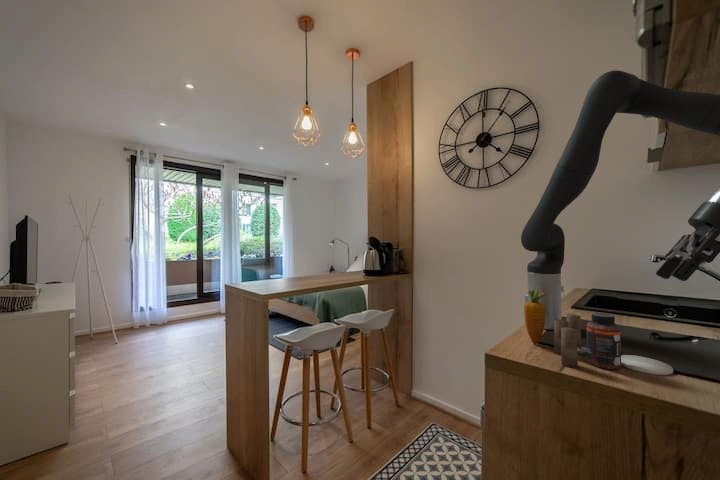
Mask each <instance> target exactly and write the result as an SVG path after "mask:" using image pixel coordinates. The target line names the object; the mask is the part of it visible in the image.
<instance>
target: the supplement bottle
mask: <svg viewBox="0 0 720 480" xmlns="http://www.w3.org/2000/svg"><path fill="white" fill-rule="evenodd" d="M621 338H622V332H621V327H620V326H619V325H617V324H616V320H615V315H614V314H612V313H607V312H592V313H591V320H590V321H589V322H587V323H586V348H587V356H586V359H587V362H588V363H589V364H591V366H592V365H593V366H595V367H598V368H601V369H607V370H619V369H621V367H622V365H621V355H622V341H621V340H622V339H621Z"/></svg>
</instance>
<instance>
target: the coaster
mask: <svg viewBox="0 0 720 480" xmlns="http://www.w3.org/2000/svg"><path fill="white" fill-rule="evenodd" d="M621 367H624V368H626V369H629V370H631V371H632V370H633V371H635V372H638V373H643V374H648V375H654V376H670V375H673V374H674V369H673V367H672V366H671V365H669V364H667V363H665V362H664V361H660V360H657V359H653V358H651V357H650V358H649V357H646V356H639V355H634V354H633V355H631V354H623V355H622V354H621Z"/></svg>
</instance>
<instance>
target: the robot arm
mask: <svg viewBox="0 0 720 480" xmlns="http://www.w3.org/2000/svg"><path fill="white" fill-rule="evenodd" d="M616 114H629V115H638V116H639V115H641V116H647V117H651V118H656V119H659V120H662V121H666V122H669V123H671V124H674V125H677V126H680V127H684V128H687V129H690V130H694V131H698V132H702V133H705V134H710V135H714V136H718V137H720V94H716V93H711V92H710V93H709V92H700V91H690V90H689V91H688V90H681V89H680V90H679V89H674V88H670V87H669V88H668V87H664V86H661V85H657V84H654V83H651V82H650V81H646V80H643V79H641V78H639V77H638V76H637V75H635V74H632V73H631V72H626V71H622V70H610V71H608V72H605V73H603V74H602V75H600V76H599V77H598V78H596V79H595V81H593V82H592V84H591V85H590V87H589V88H588V91H587V93H586V96H585V97H584V100H583V103H582V106H581V109H580V113H579V114H578V118H577V121H576V123H575V125H574V129H573V130H572V133H571V135H570V137H569V138H568V141H567V142H566V144H565V147H564V149H563V152H562V154H561V156H560V158H559V159H558V162H557V163H556V166H555V168H554V170H553V172H552V174H551V177H550V179H549V181H548V183H547V186H546V188H545V189H544V191H543V194H542V196H541V197H540V200H539V202H538V204H537V206H536V207H535V209H534V211H533V212H532V214H531V216H529V219H528V220H527V222H526V224H525V226H524V227H523V229H522V232H521V235H520V242H521V243H520V244H521V245H522V247H523V248H524V249H525V250H526V251H529V252H535V253H537V254H536V257H535V258H534V259H533V260H532V261H530V262H529V263H528V264H527V267H526V271H527V273H526V274H527V275H526V276H527V277H526V278H527V293H526V294H525V295H524V304H525V303H526V302H530V301H531V297H530V294H529V292H528V291H530V290H531V289H534V297H535V294H536V291H537V290H539V293H538V296H539V295H540V294H542V293H544V294H545V295H544V296H542V297H541V298H540V299H539V300H538V302H540V303H542V304H543V305H544V306H545V325H544V330H553V331H554V320H557V319H558V320H563V319H562V318H563V317H562V314H563V313H562V267H563V265H564V263H565V246H566V245H565V243H566V239H565V234H564V230H563V229H562V226H560V225H559V224H556V223H555V221H556V220H557V218H558V217H559V216H560V214H561V213H562V212H563V211H564V210H565V209H566V208H568V206H569V205H570V204H571V203H573V202H574V201H575V200H576V199H577V198H578V197H579V196H580V195H581V194H582V193H583V192H584V191H585V190H586V188H587V186H588V184H589V182H590V180H591V179H592V177H593V176H594V173H595V172H596V169H597V167H598V163H599V161H600V155H601V149H602V143H603V139H604V136H605V133H606V131H607V129H608V127H609V126H610V124H611V123H612V120H613V119H614V117H615V115H616ZM687 223H688V224H689V225H690V226H691V227H693V228H694V231H693V232H691V234H689V233H687V234H684V235H682V236H681V237H680V238H679V239H678V241H677V242H676V243H675V244H674V245H673V246H672V248H671V249H669V250H668V252H667V253H665V255H664V258H665V261H664V262H663V263H662V265H661V266H660V267H659V268H658V269H657V270H656V271H655V275H656V276H657V277H660V278H662V279H664V280H668V279H670V278H671V277H673V278H675V279H677V280H680V281H681V282H682V281H683V282H686V281H688V280H689V279H690V277H691V276H692V275H694V273H695V272H696V271H697V270H698V269H699V268H700V267H702V266H704V265H706V264H710V263H713V262H714V260H715V259H716V258H717V256H718V255H719V254H720V184H719V185H718V186H717V187H716V188H715V189H714V190H712V191H711V193H709V195H708V196H707V197H706V199H705V200H704V201H703V202H702V203H701V205H700V206H698V208H697V209H696V210H695V211H694V212H693V213H692V215H691V216H690V217H689V218H688V219H687ZM677 255H678V256H677Z"/></svg>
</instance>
